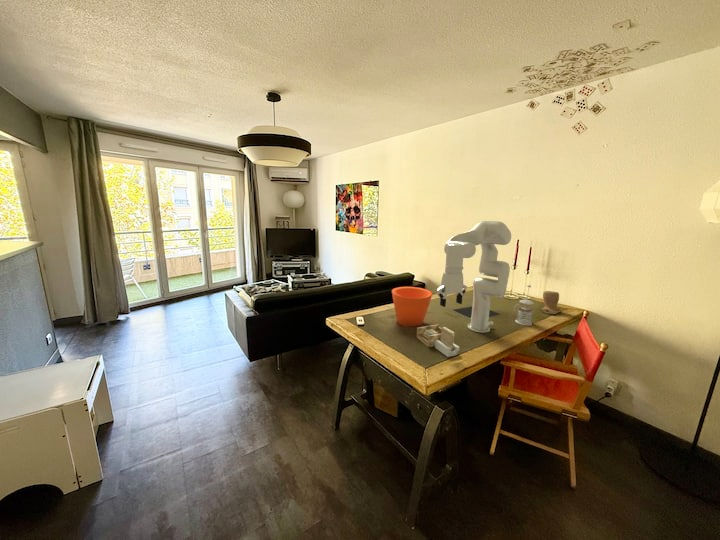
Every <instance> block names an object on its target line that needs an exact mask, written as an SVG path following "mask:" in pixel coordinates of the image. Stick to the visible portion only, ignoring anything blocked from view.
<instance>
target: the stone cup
mask: <svg viewBox="0 0 720 540" xmlns="http://www.w3.org/2000/svg"><path fill="white" fill-rule="evenodd" d="M542 299H543V303H544V307H542V308H541V309H540V311H542V312H543V313H545V314H548V315H555V314H558V313H561V312H562V309H561V308H558V306H557V305H558V303H559V301H560V293H559V292H558V291H552V290H548V291H547V290H545V291H543V293H542Z"/></svg>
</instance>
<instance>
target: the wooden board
mask: <svg viewBox="0 0 720 540" xmlns="http://www.w3.org/2000/svg"><path fill="white" fill-rule="evenodd" d="M441 328H442V331H441V342H442V343H444V344H445V345H447V346H448V347H449V348H451V351H453V344H455V331H453V330H451V329H450V328H448V327H446V326H443V327H442V326H441Z"/></svg>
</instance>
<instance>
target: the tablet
mask: <svg viewBox="0 0 720 540" xmlns="http://www.w3.org/2000/svg"><path fill="white" fill-rule="evenodd" d="M451 311H452V312H454V313H456V314H458V313H459V314H458V315H461V316H463V317H466V318H468V319H470V320H471V315H472V306H466V307H461V308H455V309H452V310H451ZM501 315H502V314H501V313H498V312H496V311H493V310H491V309H490V311H489V318H492V317H496V316H501Z"/></svg>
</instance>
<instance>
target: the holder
mask: <svg viewBox="0 0 720 540" xmlns="http://www.w3.org/2000/svg"><path fill="white" fill-rule="evenodd" d="M433 348H435V349H436V350H437V351H439V352H441V353H442V354H443V356H446V357H448V358H450V357H454V356H458V355H459V354H460V346H459V345H458V344H455V343H454V344H453V351H451V348H449V347H448V346H447V345H445V344H444V343H442V342H441V341H439V340H438V339H436V340H435V343H434V346H433Z"/></svg>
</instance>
